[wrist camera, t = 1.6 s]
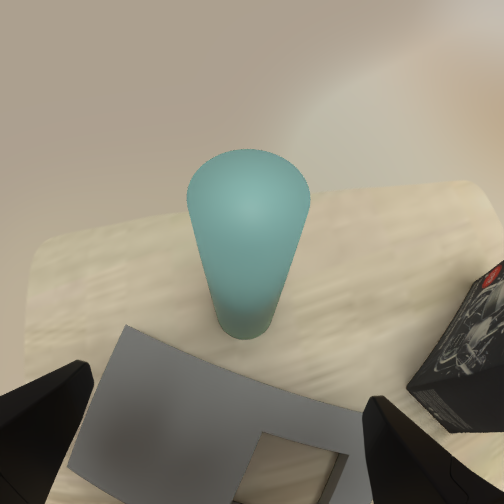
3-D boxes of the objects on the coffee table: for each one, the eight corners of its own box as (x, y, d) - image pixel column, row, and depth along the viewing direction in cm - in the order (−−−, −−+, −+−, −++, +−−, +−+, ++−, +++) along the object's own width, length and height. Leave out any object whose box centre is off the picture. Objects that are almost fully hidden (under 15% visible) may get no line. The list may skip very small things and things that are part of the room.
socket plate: (330, 554, 14) (337, 564, 12) (79, 463, 16) (66, 467, 14) (388, 420, 19) (401, 421, 17) (134, 330, 21) (125, 324, 20)
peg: (261, 347, 21) (289, 266, 9) (208, 327, 22) (164, 222, 9) (279, 297, 23) (322, 168, 11) (229, 279, 24) (217, 138, 11)
